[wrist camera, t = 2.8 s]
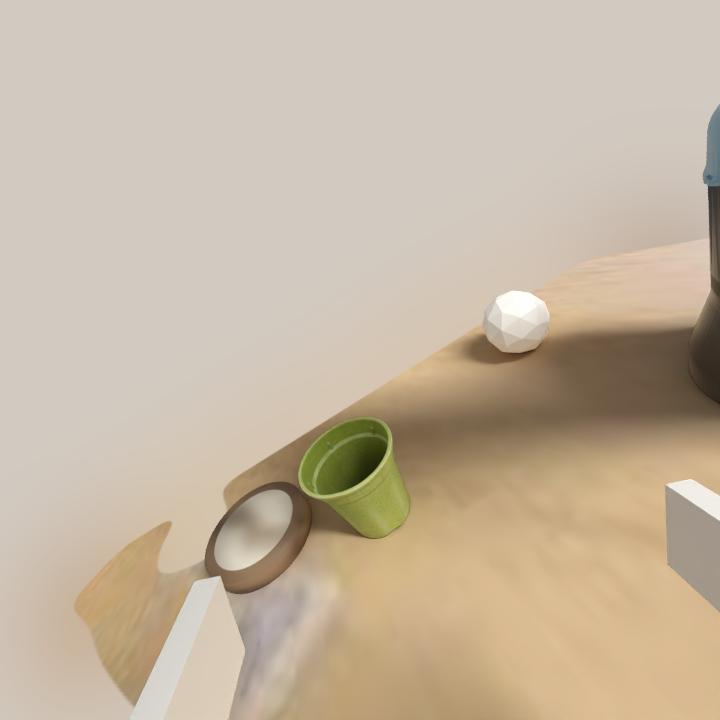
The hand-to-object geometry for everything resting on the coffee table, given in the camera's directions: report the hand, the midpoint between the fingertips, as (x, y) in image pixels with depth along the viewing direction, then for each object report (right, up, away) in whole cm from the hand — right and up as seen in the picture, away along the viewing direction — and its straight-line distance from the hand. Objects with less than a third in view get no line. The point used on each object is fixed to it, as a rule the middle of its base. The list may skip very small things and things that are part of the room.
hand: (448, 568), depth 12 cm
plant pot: (0, -9, +28) cm, 30 cm away
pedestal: (-13, -14, +33) cm, 38 cm away
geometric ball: (+18, +8, +40) cm, 45 cm away
